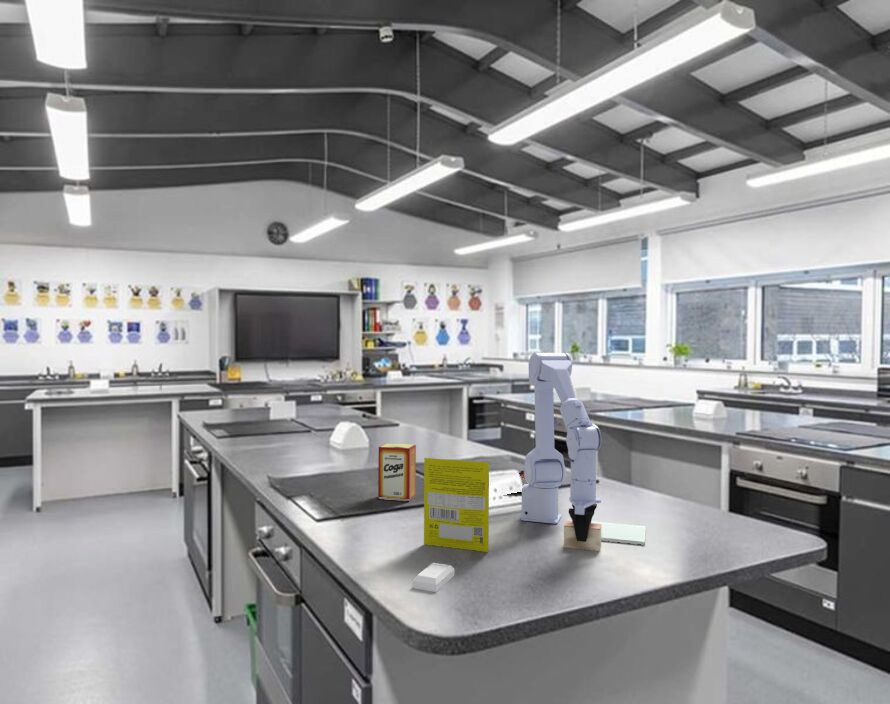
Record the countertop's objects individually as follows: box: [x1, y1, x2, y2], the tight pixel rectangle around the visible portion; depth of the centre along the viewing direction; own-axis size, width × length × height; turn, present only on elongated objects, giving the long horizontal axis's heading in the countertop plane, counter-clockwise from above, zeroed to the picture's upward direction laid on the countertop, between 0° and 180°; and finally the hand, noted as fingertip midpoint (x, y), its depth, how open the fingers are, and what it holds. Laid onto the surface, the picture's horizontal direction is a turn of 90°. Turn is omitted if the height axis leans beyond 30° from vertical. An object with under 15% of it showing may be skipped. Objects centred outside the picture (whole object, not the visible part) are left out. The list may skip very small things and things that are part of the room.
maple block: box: [563, 520, 602, 552], centre depth 143 cm, size 8×4×5 cm, turn 71°
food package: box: [423, 457, 490, 553], centre depth 141 cm, size 15×1×20 cm, turn 71°
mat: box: [591, 520, 647, 546], centre depth 152 cm, size 15×13×1 cm
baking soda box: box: [377, 443, 417, 499], centre depth 186 cm, size 10×6×16 cm
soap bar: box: [412, 562, 456, 593], centre depth 121 cm, size 5×9×3 cm, turn 157°
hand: (582, 538), depth 143 cm, fingers closed on maple block, 4 cm apart
